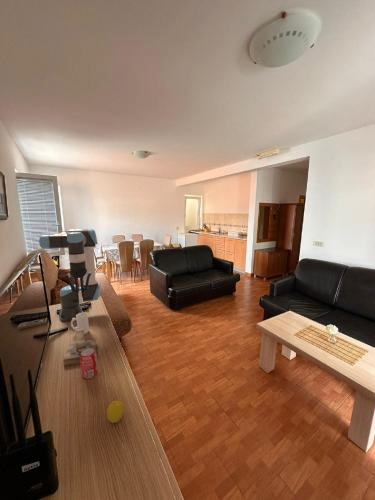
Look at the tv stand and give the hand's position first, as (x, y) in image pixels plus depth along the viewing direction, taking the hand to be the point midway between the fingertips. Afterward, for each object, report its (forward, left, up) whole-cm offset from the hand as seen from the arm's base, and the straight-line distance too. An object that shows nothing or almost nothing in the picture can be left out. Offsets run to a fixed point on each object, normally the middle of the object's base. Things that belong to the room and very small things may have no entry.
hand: (81, 302), depth 116 cm
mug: (-16, -5, -27) cm, 32 cm away
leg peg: (+8, -1, -27) cm, 28 cm away
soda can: (+25, +5, -27) cm, 37 cm away
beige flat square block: (+8, -1, -27) cm, 28 cm away
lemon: (+53, +17, -27) cm, 62 cm away
